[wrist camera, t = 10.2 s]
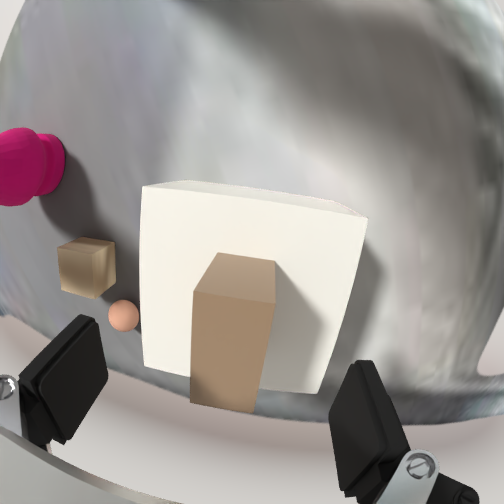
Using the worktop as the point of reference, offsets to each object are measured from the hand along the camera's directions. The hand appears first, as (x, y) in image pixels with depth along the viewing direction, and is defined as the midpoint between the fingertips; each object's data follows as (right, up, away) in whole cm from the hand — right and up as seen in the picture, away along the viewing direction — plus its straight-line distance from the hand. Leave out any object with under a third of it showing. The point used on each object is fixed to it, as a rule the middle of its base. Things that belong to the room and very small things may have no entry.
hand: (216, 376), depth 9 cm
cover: (+1, +3, +14) cm, 15 cm away
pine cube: (-13, +4, +15) cm, 21 cm away
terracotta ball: (-11, -1, +16) cm, 19 cm away
